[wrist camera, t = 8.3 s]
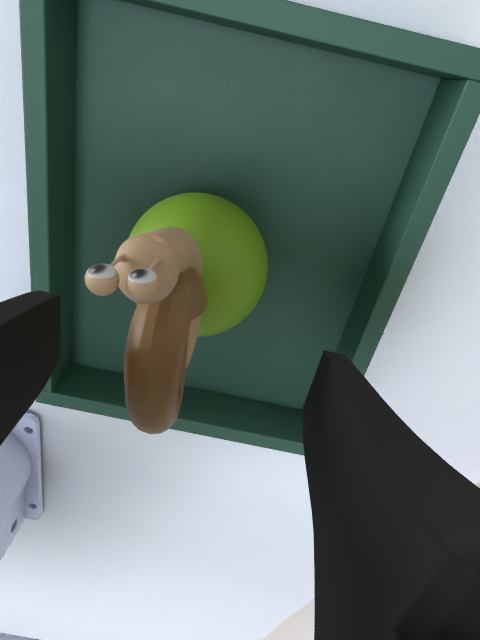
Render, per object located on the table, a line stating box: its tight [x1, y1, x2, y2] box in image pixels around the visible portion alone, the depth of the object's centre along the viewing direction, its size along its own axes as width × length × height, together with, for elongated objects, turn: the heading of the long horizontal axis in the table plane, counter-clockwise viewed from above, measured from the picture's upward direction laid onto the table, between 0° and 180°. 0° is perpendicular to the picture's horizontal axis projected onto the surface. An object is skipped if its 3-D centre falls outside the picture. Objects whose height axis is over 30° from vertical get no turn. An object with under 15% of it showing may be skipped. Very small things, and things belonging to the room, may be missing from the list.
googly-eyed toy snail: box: [85, 192, 268, 434], centre depth 13 cm, size 5×6×12 cm
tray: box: [19, 0, 480, 456], centre depth 18 cm, size 18×15×3 cm
